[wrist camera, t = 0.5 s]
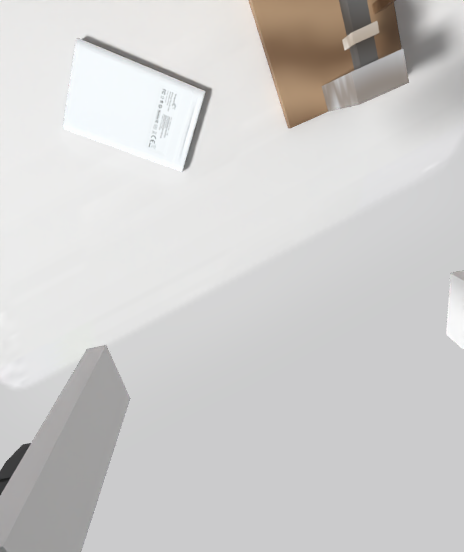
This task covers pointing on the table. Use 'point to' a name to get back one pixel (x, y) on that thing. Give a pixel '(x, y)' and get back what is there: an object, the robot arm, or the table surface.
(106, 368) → the robot arm
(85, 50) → the external hard drive
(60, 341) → the table surface
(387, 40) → the comb stand
